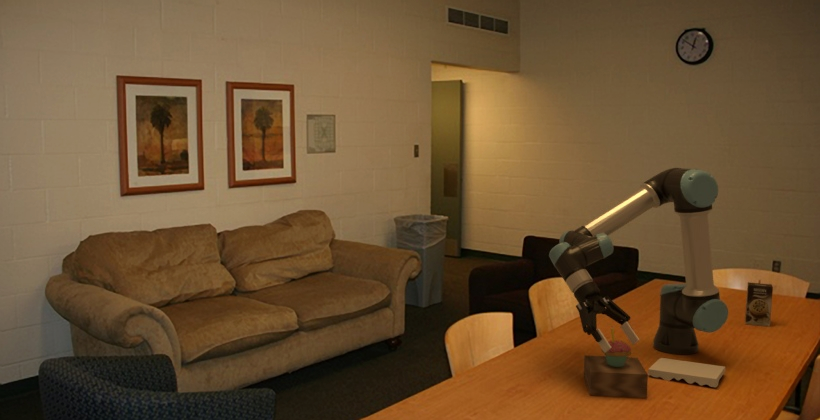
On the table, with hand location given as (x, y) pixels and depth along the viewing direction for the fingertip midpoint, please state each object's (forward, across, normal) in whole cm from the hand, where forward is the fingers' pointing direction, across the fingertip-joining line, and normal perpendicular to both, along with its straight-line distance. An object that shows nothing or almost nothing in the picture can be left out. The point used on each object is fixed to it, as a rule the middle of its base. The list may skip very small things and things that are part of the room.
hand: (622, 346), depth 222 cm
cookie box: (0, -108, -19) cm, 110 cm away
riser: (+8, 0, -11) cm, 13 cm away
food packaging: (+14, -27, -6) cm, 31 cm away
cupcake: (+3, 0, -6) cm, 7 cm away
